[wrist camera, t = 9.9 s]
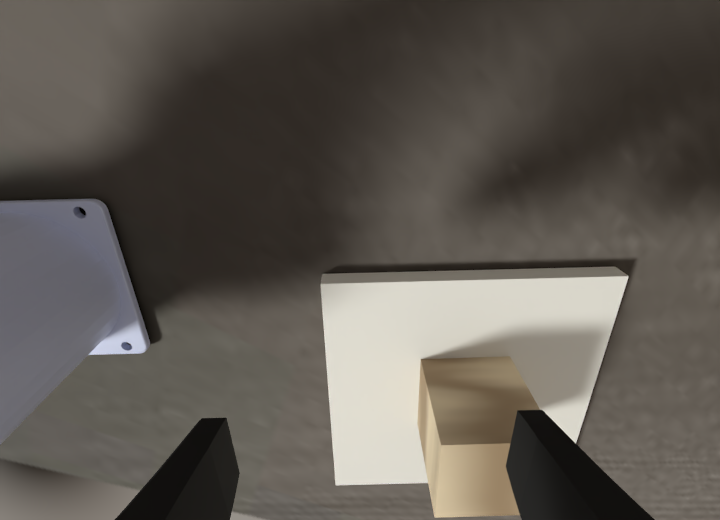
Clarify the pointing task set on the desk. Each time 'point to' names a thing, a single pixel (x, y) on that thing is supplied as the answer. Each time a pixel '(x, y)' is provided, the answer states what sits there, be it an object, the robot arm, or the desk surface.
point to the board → (454, 350)
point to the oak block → (470, 432)
